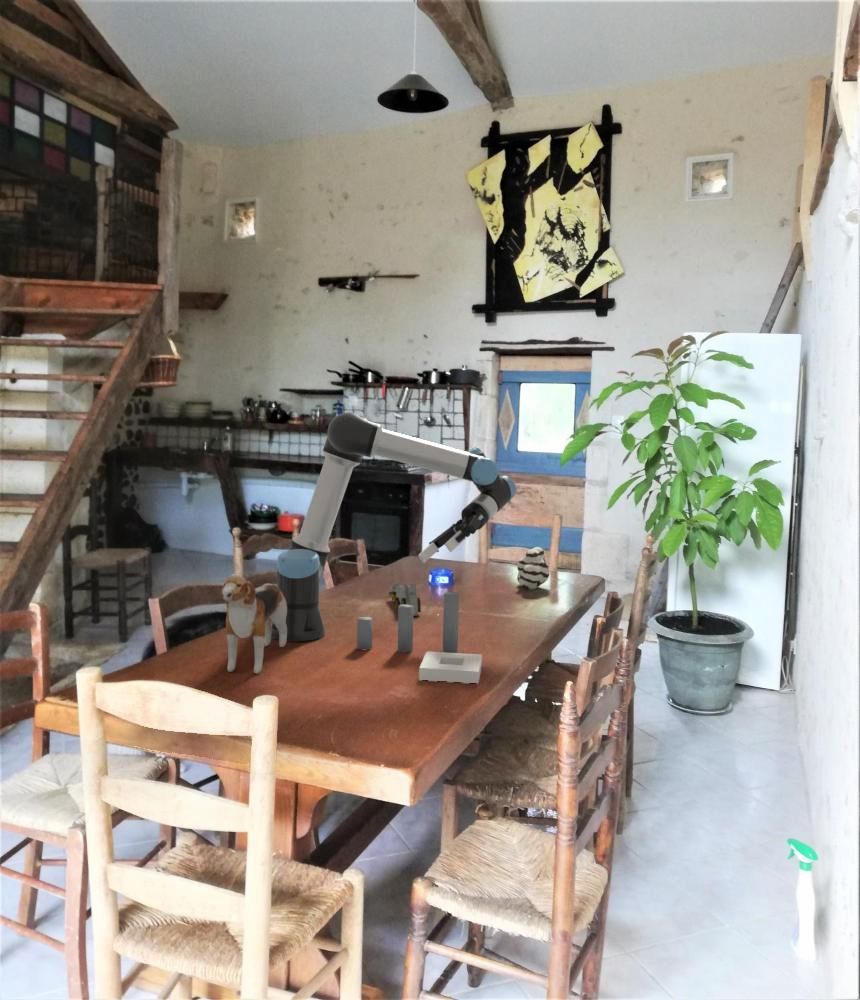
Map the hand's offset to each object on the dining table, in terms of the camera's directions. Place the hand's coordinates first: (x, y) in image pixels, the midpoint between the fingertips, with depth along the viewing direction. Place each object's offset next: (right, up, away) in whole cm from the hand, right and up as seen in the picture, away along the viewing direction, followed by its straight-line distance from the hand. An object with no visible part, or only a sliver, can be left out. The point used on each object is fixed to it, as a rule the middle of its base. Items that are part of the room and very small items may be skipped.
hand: (434, 553), depth 221 cm
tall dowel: (+4, -26, -8) cm, 27 cm away
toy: (-10, -21, +43) cm, 48 cm away
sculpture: (+37, -18, +78) cm, 88 cm away
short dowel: (-19, -25, -6) cm, 32 cm away
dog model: (-44, -26, -20) cm, 55 cm away
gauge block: (+4, -27, -25) cm, 38 cm away
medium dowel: (-8, -25, -7) cm, 27 cm away
